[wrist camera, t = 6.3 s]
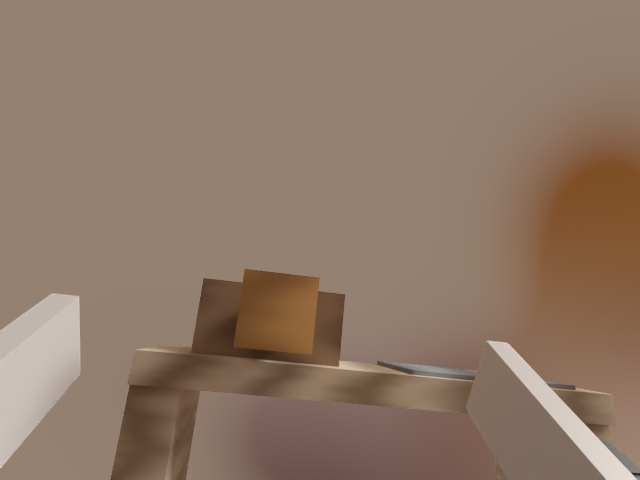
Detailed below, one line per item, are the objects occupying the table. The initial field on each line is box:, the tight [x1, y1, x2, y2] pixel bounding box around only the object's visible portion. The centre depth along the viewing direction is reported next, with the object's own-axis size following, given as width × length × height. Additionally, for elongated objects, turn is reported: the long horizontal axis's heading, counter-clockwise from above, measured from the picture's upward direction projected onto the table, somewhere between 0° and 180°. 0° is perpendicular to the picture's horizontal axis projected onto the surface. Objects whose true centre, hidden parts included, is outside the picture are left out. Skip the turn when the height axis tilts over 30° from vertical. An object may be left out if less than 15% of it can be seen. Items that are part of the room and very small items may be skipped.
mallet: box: [191, 269, 345, 367], centre depth 23 cm, size 10×22×5 cm, turn 8°
